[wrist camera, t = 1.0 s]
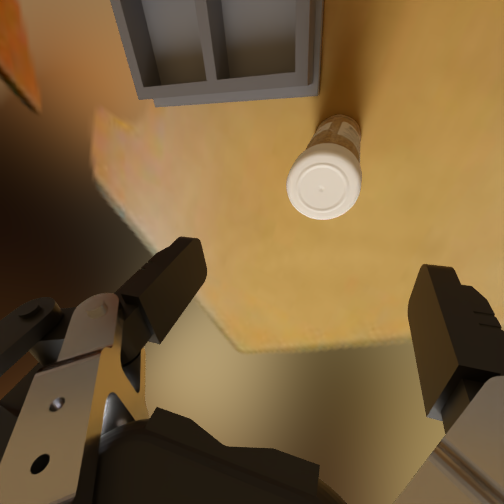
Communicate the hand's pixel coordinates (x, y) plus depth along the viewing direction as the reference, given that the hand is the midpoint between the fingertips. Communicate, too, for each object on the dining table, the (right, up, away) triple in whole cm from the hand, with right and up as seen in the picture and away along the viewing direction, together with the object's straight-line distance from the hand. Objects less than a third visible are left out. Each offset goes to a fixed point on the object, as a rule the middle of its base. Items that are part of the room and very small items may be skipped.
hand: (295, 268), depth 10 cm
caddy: (-4, +21, +15) cm, 26 cm away
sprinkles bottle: (+7, +12, +17) cm, 22 cm away
